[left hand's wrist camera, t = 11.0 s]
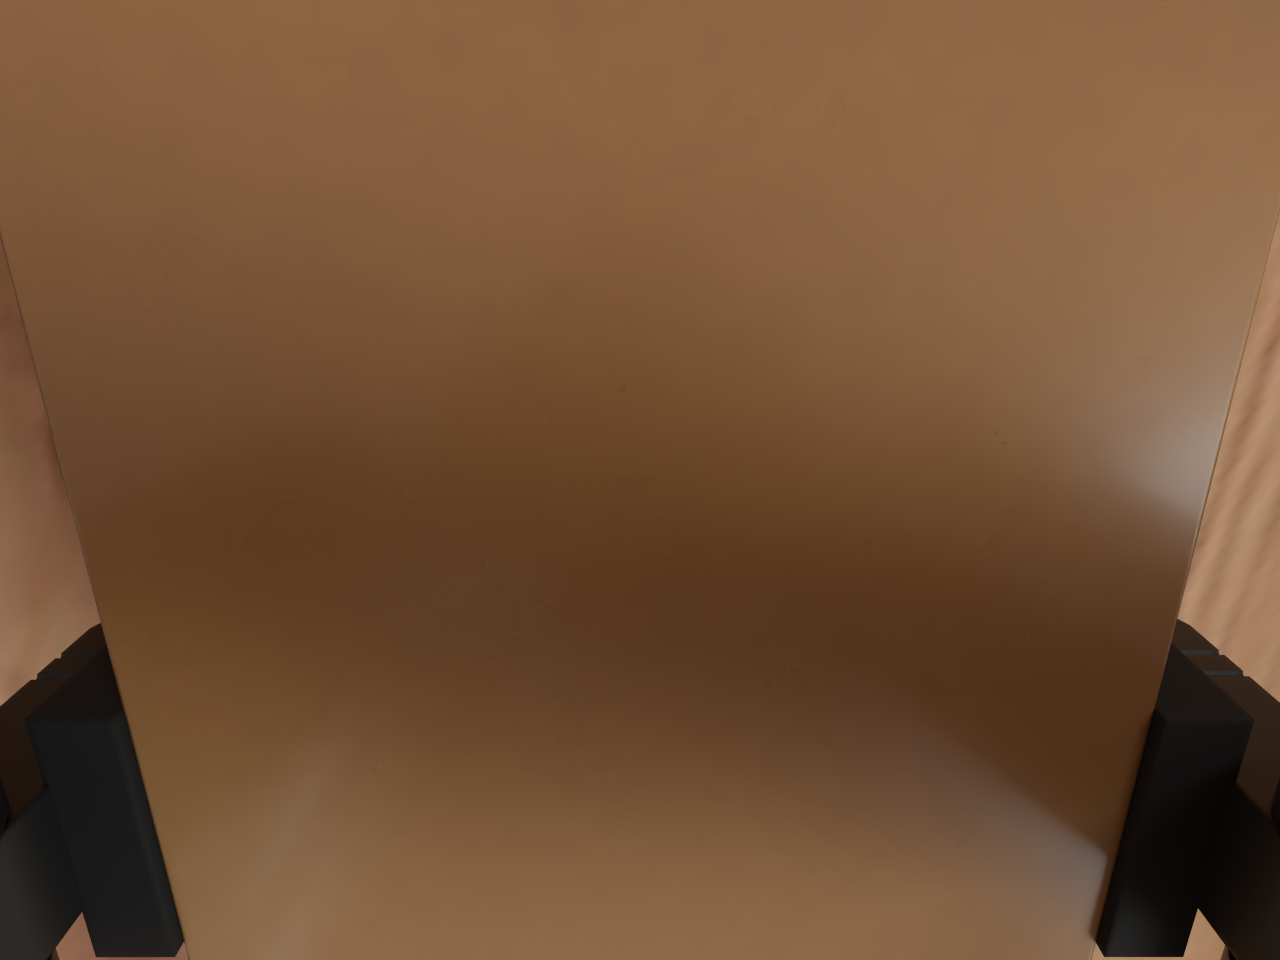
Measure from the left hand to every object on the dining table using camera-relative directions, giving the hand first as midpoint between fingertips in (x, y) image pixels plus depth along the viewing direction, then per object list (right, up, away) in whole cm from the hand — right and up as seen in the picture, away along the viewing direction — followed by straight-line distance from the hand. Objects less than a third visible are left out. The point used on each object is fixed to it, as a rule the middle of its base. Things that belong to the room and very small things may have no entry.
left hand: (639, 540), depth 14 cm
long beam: (0, +20, -7) cm, 22 cm away
